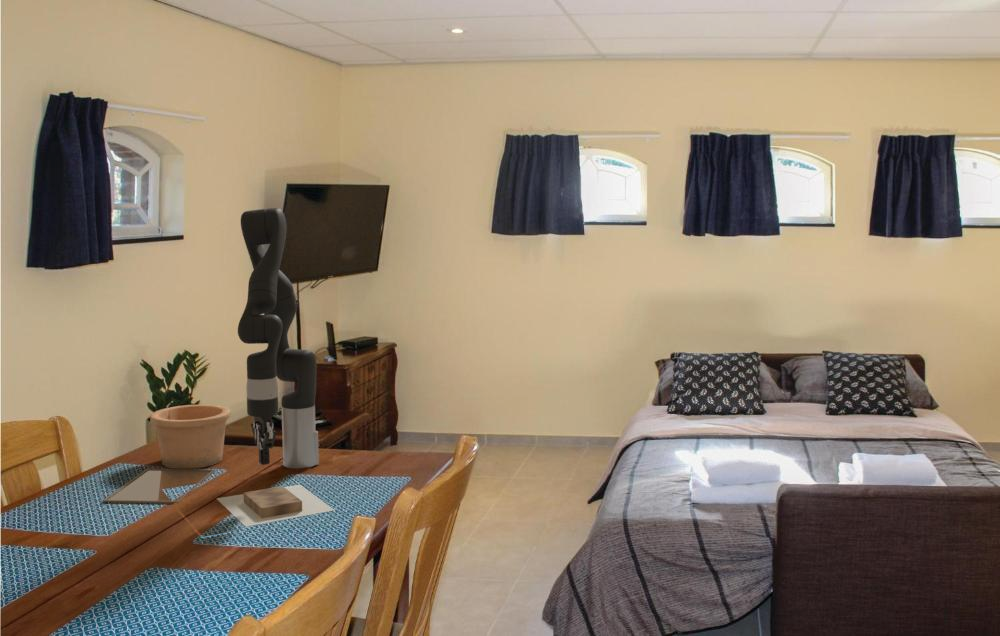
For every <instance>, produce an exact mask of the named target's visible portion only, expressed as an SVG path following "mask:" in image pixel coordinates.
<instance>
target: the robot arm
mask: <svg viewBox="0 0 1000 636" xmlns="http://www.w3.org/2000/svg"><path fill="white" fill-rule="evenodd" d="M240 227H241V233H242V236H243V240H244V244H245V247H246V249H247V253H248V255H249V259H250V263H251V265H252V269H253V270H252V272H251V274H250V276H249V279H248V286H247V287H248V289H247V298H246V299H247V300H246V305H245V307H244V310H243V313H242V315H241V317H240V320H239V322H238V325H237V336H238V337H239V339H240V341H241V342H242V343H244V344H248V345H249V344H252V345H254V344H260V345H261V344H262V345H263V344H267V348H266V349H265V350H262V351H257V352H253V353H250V354H248V356H247V357H246V413H247V415H248V416H250V417H253V419H254V420H253V422H251V424H250V428H251V431H252V435H253V441H254V444H255V445H256V447H257V449H258V463H259V464H260V465H261V466H264V465H269V464H270V458H271V457H270V449H273V447H274V444H275V441H276V437H277V432H276V431H277V430H274V422H273V419H272V417H273V416H276V415H277V414H278V413H279V384H278V380H279V381H282V382H287V383H288V382H289V383H297V388H296V390H295V391H293V392H289V393H286V394H284V395H282V397H281V402H280V403H281V427H282V430H281V431H282V432H281V433H282V463H283V464H282V465H283V467H285V468H287V469H294V470H295V469H305V468H312V467H314V466H318V465H319V463H320V461H319V459H320V458H319V457H320V456H319V431H317V430H316V396H317V395H316V394H317V372H318V371H317V370H318V369H317V367H318V366H317V364H318V363H317V357H316V355H315V353H314V351H312V350H309V349H298V348H297V349H295V348H293V349H292V348H290V344H289V338H288V334H289V329H290V327H291V325H292V323H293V321H294V318H295V316H296V313H297V310H298V309H297V308H298V304H297V299H296V295H295V289H294V286H293V284H292V281H290V279H289V277H287V276H286V275H285V274H284V272H283V271H282V270H280V267H281V263H282V259H283V255H284V249H285V245H286V239H287V233H288V232H287V231H288V230H287V229H288V228H287V220H286V217H285V214H284V212H283V210H282V209H281V208H277V207H271V208H269V207H268V208H262V209H261V208H260V209H252V210H246V211H244V212H243V213H242V214H241V217H240ZM263 245H268V248H267V250H266V251H265V250H264V248H263ZM277 379H278V380H277Z"/></svg>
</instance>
